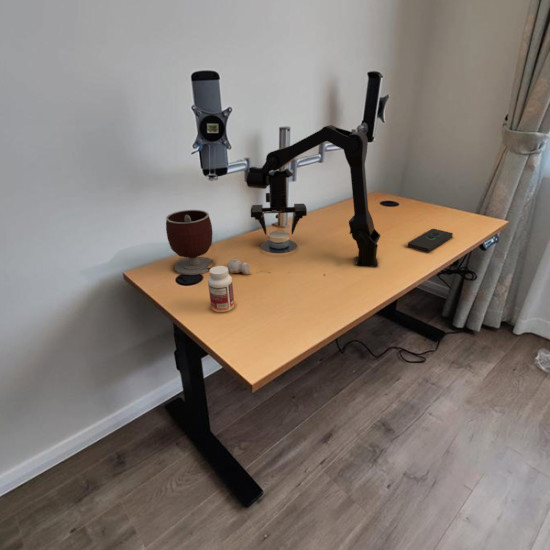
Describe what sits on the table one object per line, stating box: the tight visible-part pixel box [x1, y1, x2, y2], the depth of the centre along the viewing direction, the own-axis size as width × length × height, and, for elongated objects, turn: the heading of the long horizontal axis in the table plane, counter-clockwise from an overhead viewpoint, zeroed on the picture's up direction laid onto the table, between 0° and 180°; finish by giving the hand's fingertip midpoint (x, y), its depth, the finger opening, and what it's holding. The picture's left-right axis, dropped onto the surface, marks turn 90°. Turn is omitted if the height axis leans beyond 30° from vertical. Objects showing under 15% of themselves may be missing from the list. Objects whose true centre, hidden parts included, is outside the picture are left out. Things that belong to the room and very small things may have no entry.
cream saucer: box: [268, 230, 290, 243], centre depth 129 cm, size 7×7×2 cm
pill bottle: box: [207, 265, 235, 313], centre depth 95 cm, size 6×6×11 cm
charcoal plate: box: [260, 239, 298, 254], centre depth 131 cm, size 13×13×1 cm
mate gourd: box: [165, 209, 213, 276], centre depth 115 cm, size 16×14×20 cm
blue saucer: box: [268, 239, 290, 249], centre depth 130 cm, size 7×7×2 cm
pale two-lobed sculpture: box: [226, 258, 251, 275], centre depth 114 cm, size 4×8×5 cm
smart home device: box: [407, 228, 454, 254], centre depth 133 cm, size 8×2×20 cm
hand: (279, 234), depth 128 cm, fingers open, 9 cm apart
